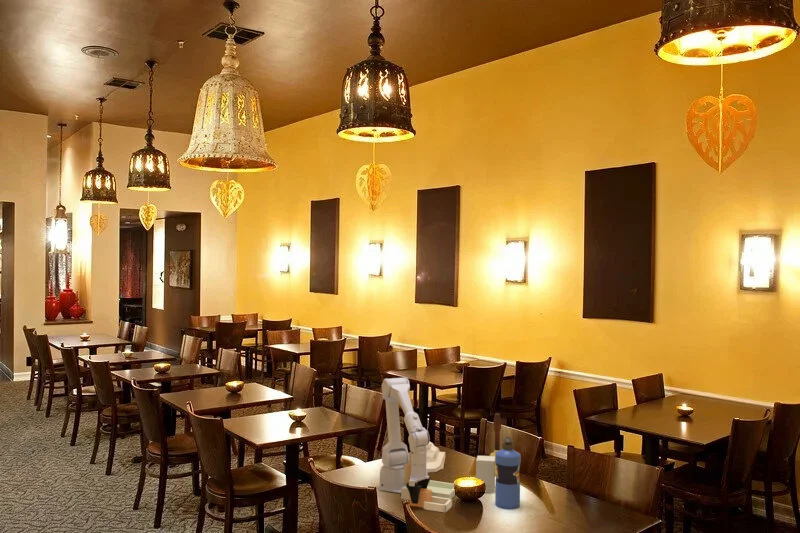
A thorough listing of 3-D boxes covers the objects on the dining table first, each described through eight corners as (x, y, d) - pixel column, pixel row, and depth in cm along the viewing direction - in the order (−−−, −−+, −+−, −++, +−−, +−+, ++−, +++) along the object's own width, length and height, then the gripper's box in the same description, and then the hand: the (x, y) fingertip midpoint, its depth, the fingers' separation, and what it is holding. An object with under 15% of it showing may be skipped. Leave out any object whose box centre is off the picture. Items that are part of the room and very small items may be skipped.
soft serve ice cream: (448, 476, 283) (446, 446, 279) (413, 478, 283) (410, 449, 280) (445, 460, 295) (443, 432, 292) (412, 463, 295) (410, 434, 292)
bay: (423, 509, 239) (423, 502, 239) (430, 502, 246) (430, 495, 246) (445, 512, 236) (445, 505, 236) (452, 505, 243) (452, 499, 243)
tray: (404, 494, 254) (404, 488, 254) (417, 484, 266) (417, 478, 266) (449, 501, 247) (449, 494, 247) (459, 490, 259) (459, 484, 259)
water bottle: (522, 502, 247) (522, 435, 247) (518, 510, 238) (518, 441, 239) (497, 499, 250) (497, 433, 250) (492, 507, 242) (493, 439, 242)
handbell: (490, 465, 294) (491, 409, 294) (516, 470, 287) (516, 412, 287) (477, 471, 284) (478, 413, 284) (503, 477, 277) (503, 417, 277)
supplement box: (494, 493, 257) (494, 461, 257) (475, 492, 258) (475, 460, 258) (495, 487, 264) (495, 456, 264) (476, 486, 265) (477, 454, 265)
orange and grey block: (399, 504, 245) (399, 489, 245) (404, 500, 249) (404, 485, 249) (427, 508, 240) (427, 493, 240) (431, 504, 245) (431, 489, 245)
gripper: (421, 469, 236) (421, 507, 236) (435, 459, 249) (435, 495, 249) (403, 467, 239) (403, 505, 239) (418, 457, 252) (417, 492, 252)
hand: (418, 499), depth 244 cm, fingers open, 7 cm apart
